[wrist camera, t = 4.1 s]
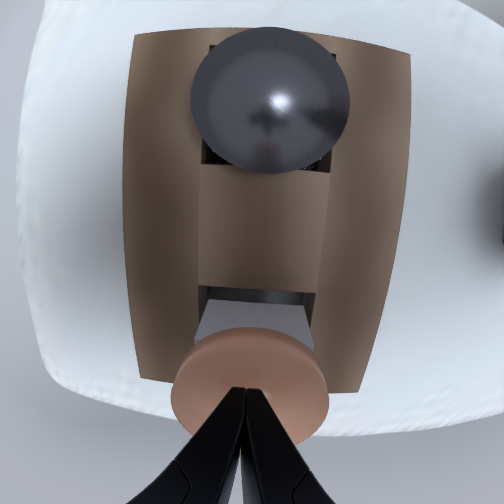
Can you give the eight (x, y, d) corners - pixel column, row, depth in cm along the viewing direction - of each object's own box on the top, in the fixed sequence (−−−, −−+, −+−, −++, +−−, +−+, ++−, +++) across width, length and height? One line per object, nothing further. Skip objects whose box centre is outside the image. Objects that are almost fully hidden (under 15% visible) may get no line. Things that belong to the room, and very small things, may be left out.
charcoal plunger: (327, 68, 15) (351, 37, 10) (321, 174, 17) (344, 181, 12) (215, 60, 15) (197, 26, 10) (208, 166, 17) (186, 170, 12)
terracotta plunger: (321, 292, 15) (345, 352, 10) (303, 387, 17) (312, 454, 12) (192, 283, 15) (163, 340, 10) (196, 380, 17) (178, 445, 12)
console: (386, 69, 15) (410, 54, 12) (346, 361, 21) (357, 392, 17) (155, 53, 15) (134, 34, 12) (155, 348, 21) (140, 377, 18)
